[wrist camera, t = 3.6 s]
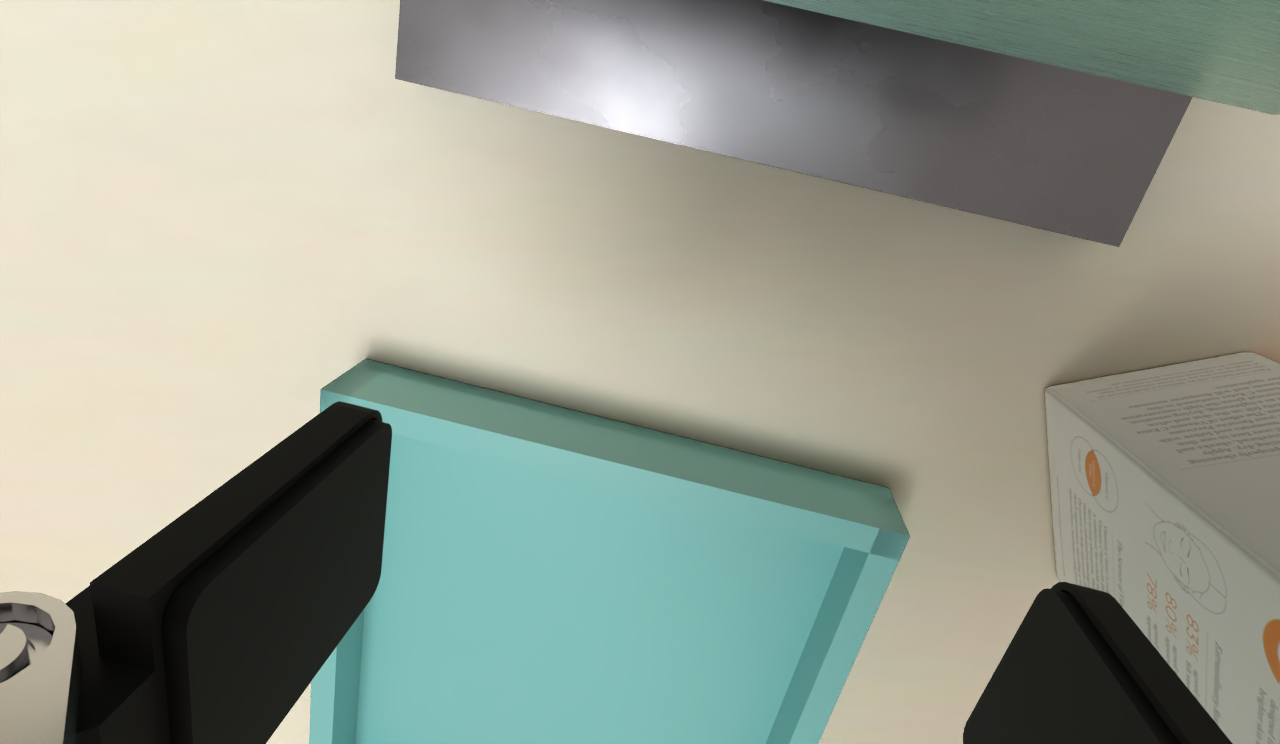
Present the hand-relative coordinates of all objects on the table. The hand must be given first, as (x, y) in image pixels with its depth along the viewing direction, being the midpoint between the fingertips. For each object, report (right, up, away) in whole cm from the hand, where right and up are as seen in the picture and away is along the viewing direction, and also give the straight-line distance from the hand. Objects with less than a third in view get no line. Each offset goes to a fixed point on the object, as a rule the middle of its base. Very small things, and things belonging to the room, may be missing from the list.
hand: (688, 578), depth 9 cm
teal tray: (-4, -9, +19) cm, 22 cm away
